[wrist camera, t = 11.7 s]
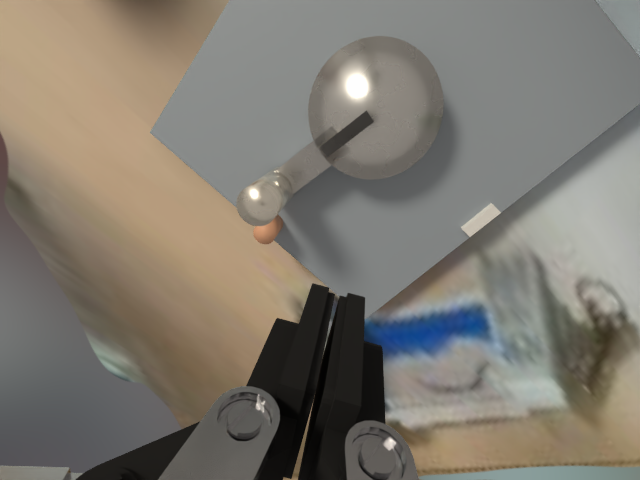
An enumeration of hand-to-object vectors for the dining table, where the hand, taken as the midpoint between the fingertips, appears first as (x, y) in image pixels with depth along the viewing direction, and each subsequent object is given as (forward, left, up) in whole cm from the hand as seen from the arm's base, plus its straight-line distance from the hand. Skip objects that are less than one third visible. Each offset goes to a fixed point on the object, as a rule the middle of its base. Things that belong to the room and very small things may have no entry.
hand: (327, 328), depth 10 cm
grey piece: (-4, +2, -21) cm, 21 cm away
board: (-3, +5, -23) cm, 24 cm away
